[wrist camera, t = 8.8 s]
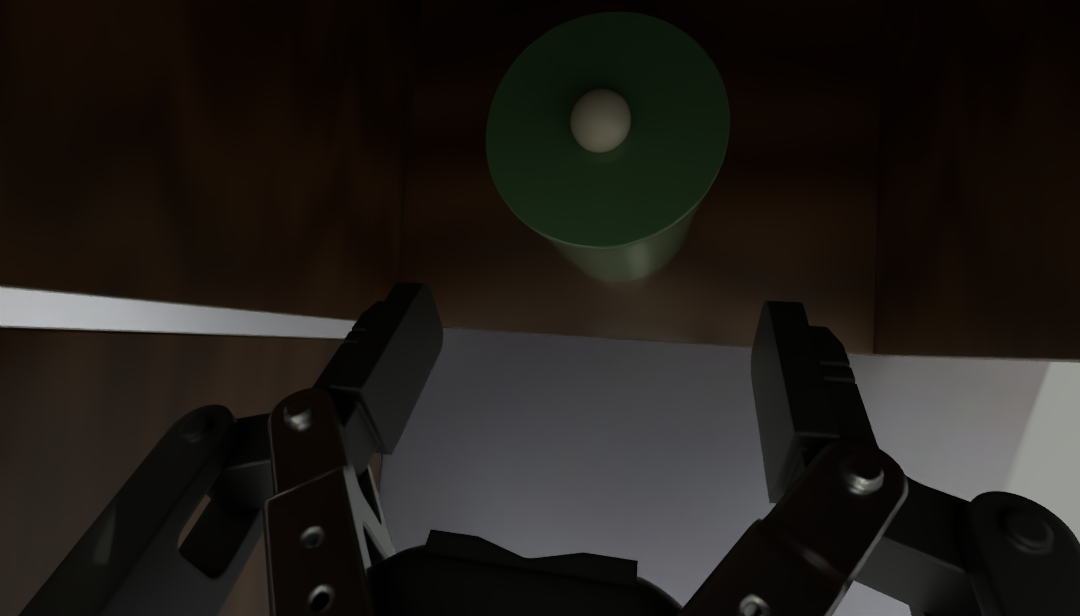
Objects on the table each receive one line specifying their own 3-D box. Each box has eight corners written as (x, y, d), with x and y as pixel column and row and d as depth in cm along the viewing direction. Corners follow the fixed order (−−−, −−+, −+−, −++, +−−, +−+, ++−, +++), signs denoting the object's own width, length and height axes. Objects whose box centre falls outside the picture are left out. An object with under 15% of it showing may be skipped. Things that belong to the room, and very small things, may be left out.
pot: (538, 283, 23) (460, 236, 13) (548, 137, 23) (480, -11, 14) (694, 290, 21) (733, 243, 12) (702, 134, 22) (745, -32, 12)
